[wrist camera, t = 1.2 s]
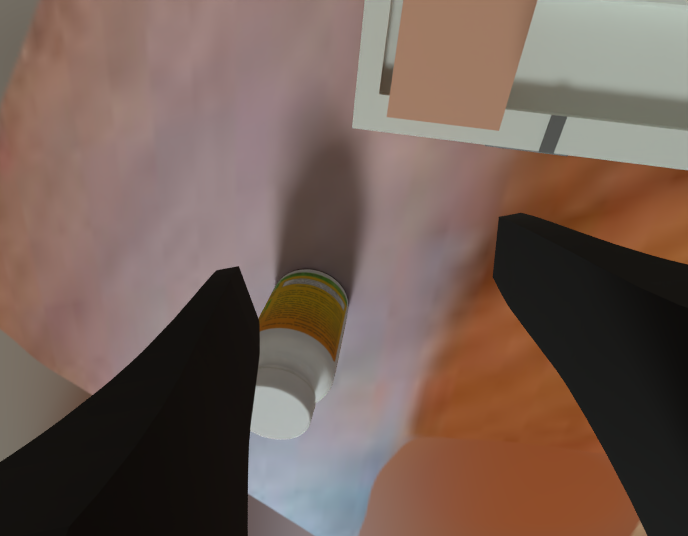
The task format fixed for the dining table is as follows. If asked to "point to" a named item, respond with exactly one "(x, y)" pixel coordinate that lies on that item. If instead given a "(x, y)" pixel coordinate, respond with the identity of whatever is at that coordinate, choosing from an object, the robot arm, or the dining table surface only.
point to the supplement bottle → (297, 352)
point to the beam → (563, 82)
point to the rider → (458, 60)
